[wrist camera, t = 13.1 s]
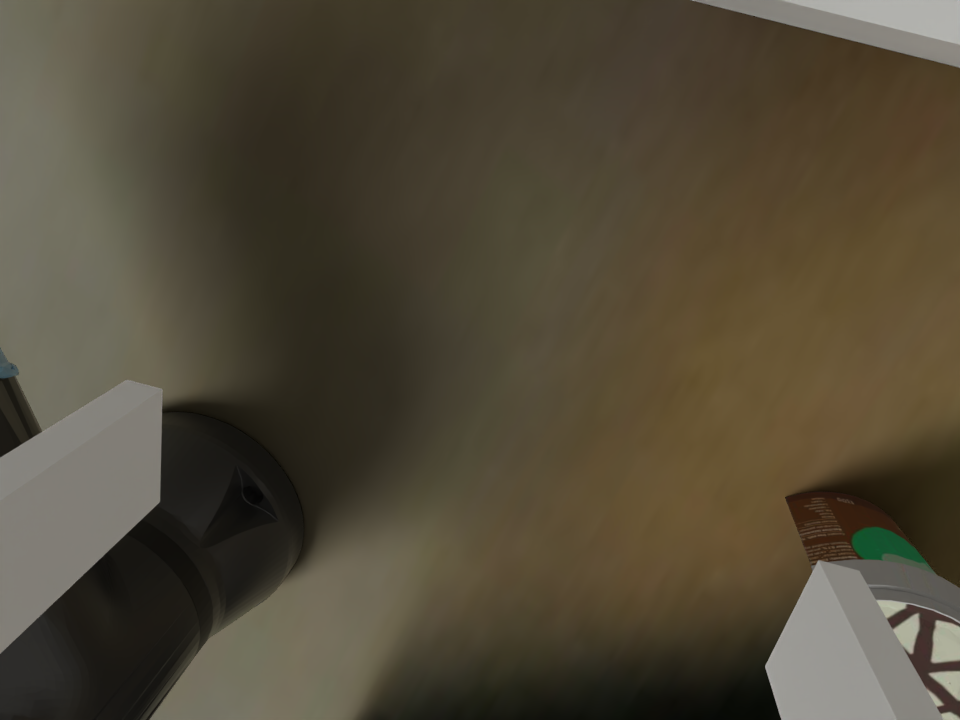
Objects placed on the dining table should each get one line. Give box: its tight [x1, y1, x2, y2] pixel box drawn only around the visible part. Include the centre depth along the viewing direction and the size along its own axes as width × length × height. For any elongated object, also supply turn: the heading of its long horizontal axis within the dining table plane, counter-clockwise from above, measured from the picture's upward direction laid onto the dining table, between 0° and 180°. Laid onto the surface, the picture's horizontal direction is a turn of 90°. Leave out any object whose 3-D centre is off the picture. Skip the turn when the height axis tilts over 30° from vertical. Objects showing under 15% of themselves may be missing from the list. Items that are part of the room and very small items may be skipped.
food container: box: [785, 492, 960, 720], centre depth 35 cm, size 12×6×10 cm, turn 29°
